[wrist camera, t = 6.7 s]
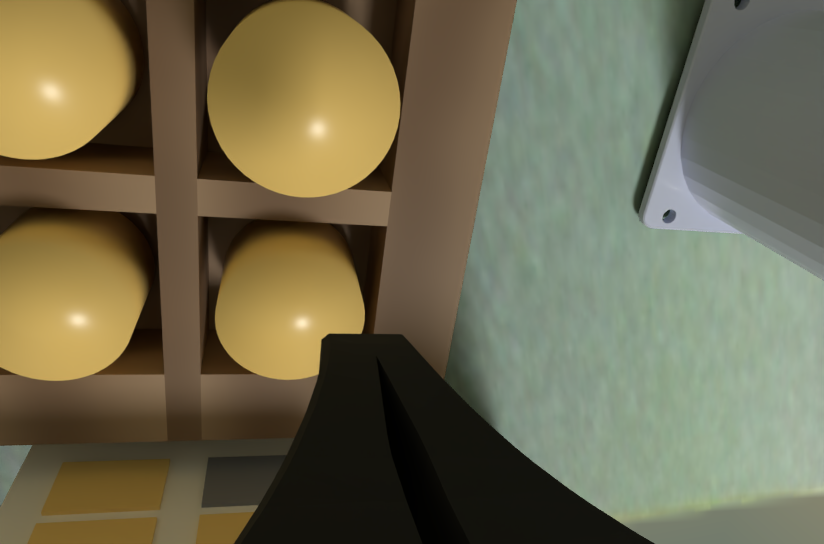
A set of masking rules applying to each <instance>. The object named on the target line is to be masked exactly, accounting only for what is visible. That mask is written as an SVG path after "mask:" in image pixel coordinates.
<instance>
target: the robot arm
mask: <svg viewBox="0 0 824 544" xmlns="http://www.w3.org/2000/svg"><path fill="white" fill-rule="evenodd" d="M734 1H735V0H705V3H704V6H703V9H702V12H701V16H700V19H699V22H698V25H697V28H696V31H695V35H694V38H693V41H692V44H691V47H690V51H689V54H688V57H687V60H686V63H685V67H684V70H683V73H682V76H681V79H680V82H679V86H678V89H677V92H676V95H675V98H674V102H673V105H672V108H671V111H670V114H669V117H668V121H667V124H666V127H665V130H664V133H663V137H662V140H661V143H660V146H659V149H658V153H657V156H656V159H655V162H654V165H653V168H652V172H651V175H650V178H649V181H648V184H647V188H646V191H645V194H644V197H643V200H642V203H641V207H640V210H639V216H638V217H639V220H640V221H641V222H642V223H643V224H644V225H645V226H647V227H649V228H656V229H672V230H689V231H706V232H722V233H739V234H745V235H747V236H748V237H750V238H752V239H754V240H755V241H757V242H759V243H760V244H762V245H764V246H765V247H767V248H769V249H771V250H772V251H774V252H776V253H777V254H779V255H781V256H783V257H784V258H786V259H788V260H789V261H791V262H793V263H795V264H796V265H798V266H800V267H801V268H803V269H805V270H807V271H808V272H810V273H812V274H813V275H815V276H817V277H818V278H820V279H822V280H824V0H741V2H740V4H739V6H738V7H736V8H735V6H734ZM667 210H670V213H669V215H668V216H667V217H666V218H665V219H662V218H663V215H664V213H665V212H666V211H667ZM234 544H654V543H653V542H651V541H649V540H648V539H646V538H644V537H642V536H641V535H639V534H637V533H636V532H634V531H632V530H631V529H629V528H628V527H626V526H625V525H623V524H621V523H620V522H618V521H617V520H615V519H614V518H612V517H610V516H609V515H607V514H606V513H604V512H603V511H601V510H599V509H598V508H596V507H595V506H593V505H592V504H590V503H589V502H587V501H586V500H584V499H583V498H581V497H580V496H579V495H577V494H576V493H574V492H573V491H571V490H570V489H568V488H567V487H566V486H564V485H563V484H562V483H560V482H559V481H558V480H556V479H555V478H554V477H552V476H551V475H550V474H548V473H547V472H546V471H544V470H543V469H542V468H540V467H539V466H538V465H536V464H535V463H534V462H532V461H531V460H530V459H529V458H528V457H526V456H525V455H524V454H523V453H521V452H520V451H519V450H518V449H517V448H515V447H514V446H513V445H512V444H511V443H510V442H508V441H507V440H506V439H505V438H504V437H503V436H502V435H501V434H499V433H498V432H497V431H496V430H495V429H494V428H493V427H491V426H490V425H489V424H488V423H487V422H486V421H485V420H484V419H483V418H482V417H481V416H480V415H478V414H477V413H476V412H475V411H474V410H473V409H472V408H471V407H470V406H469V405H468V404H467V403H466V402H465V401H464V400H463V399H462V398H461V397H460V396H459V395H458V394H457V393H456V392H455V391H454V390H453V389H452V388H451V387H450V386H449V385H448V384H447V383H446V382H445V380H444V379H443V378H442V377H441V376H440V375H439V374H438V373H437V372H436V371H435V370H434V369H433V367H432V366H431V365H430V364H429V363H428V362H427V361H426V360H425V359H424V358H423V356H422V355H421V354H420V353H419V352H418V351H417V350H416V349H415V348H414V347H413V345H412V344H411V343H410V342H409V341H408V340H407V339H406V338H405V337H404V336H403V335H402V334H331V333H329V334H328V335H326V336H325V337H324V338H323V339H321V351H320V364H319V374H318V378H317V381H316V384H315V387H314V390H313V393H312V396H311V399H310V402H309V405H308V408H307V411H306V413H305V416H304V418H303V420H302V422H301V425H300V427H299V429H298V431H297V434H296V436H295V438H294V440H293V442H292V445H291V447H290V449H289V451H288V453H287V455H286V457H285V459H284V461H283V463H282V465H281V467H280V469H279V471H278V472H277V474H276V476H275V478H274V480H273V482H272V483H271V485H270V487H269V488H268V490H267V492H266V494H265V495H264V497H263V499H262V501H261V502H260V504H259V505H258V507H257V509H256V510H255V512H254V513H253V515H252V516H251V518H250V519H249V521H248V523H247V524H246V526H245V527H244V529H243V530H242V532H241V533H240V535H239V536H238V538H237V540H236V541H235V542H234Z"/></svg>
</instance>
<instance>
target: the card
mask: <svg viewBox="0 0 824 544" xmlns="http://www.w3.org/2000/svg"><path fill="white" fill-rule="evenodd" d="M293 440H294V438H275V439H237V440H198V441H160V442H121V443H82V444H44V445H32V447H31V449H30V451H29V453H28V455H27V457H26V459H25V461H24V463H23V464H22V466H21V468H20V470H19V472H18V474H17V476H16V478H15V480H14V482H13V484H12V486H11V488H10V490H9V492H8V494H7V496H6V497H5V499H4V501H3V503H2V505H1V507H0V544H234V542H235V541H236V540H237V538H238V536H239V535H240V533H241V532H242V530H243V529H244V527H245V526H246V524H247V523H248V521H249V519H250V518H251V516H252V515H253V513H254V512H255V510H256V509H257V507H258V505H259V504H260V502H261V501H262V499H263V497H264V495H265V494H266V492H267V490H268V488H269V487H270V485H271V483H272V482H273V480H274V478H275V476H276V474H277V472H278V471H279V469H280V467H281V465H282V463H283V461H284V459H285V457H286V455H287V453H288V451H289V449H290V447H291V445H292V442H293Z"/></svg>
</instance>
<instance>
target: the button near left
mask: <svg viewBox="0 0 824 544" xmlns="http://www.w3.org/2000/svg"><path fill="white" fill-rule="evenodd" d="M143 68H144V55H143V47H142V43H141V39H140V35H139V32H138V30H137V27H136V25H135V23H134V21H133V19H132V17H131V15H130V13H129V12H128V10H127V9H126V7H125V6H124V4H123V3H122V2H121V1H120V0H0V155H2V156H6V157H11V158H18V159H34V160H38V159H48V158H54V157H58V156H62V155H65V154H67V153H70V152H73V151H75V150H76V149H78V148H80V147H82V146H84V145H85V144H86V143H87V142H89V141H90V140H91V139H93V138H94V137H95V136H96V135H97V134H98V133H99V132H100V131H101V130H102V129H103V128H104V127H105V126H107V125H108V124H109V123H110V122H111V121H112V120H113V119H114V118H115V117H116V116H117V115H118V114H119V113H120V112H122V111H123V110H124V109H125V108H126V106H127V105H128V104H129V103H130V102H131V100H132V99H133V98H134V96H135V94H136V92H137V90H138V88H139V86H140V82H141V79H142V74H143Z"/></svg>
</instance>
